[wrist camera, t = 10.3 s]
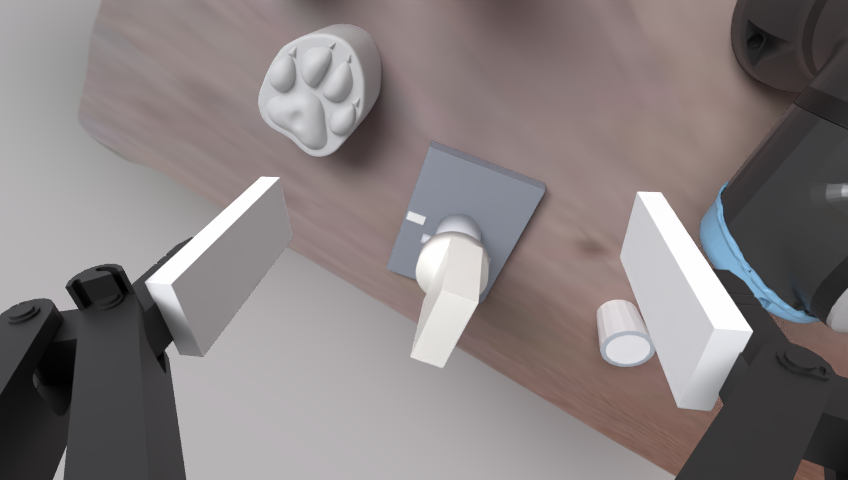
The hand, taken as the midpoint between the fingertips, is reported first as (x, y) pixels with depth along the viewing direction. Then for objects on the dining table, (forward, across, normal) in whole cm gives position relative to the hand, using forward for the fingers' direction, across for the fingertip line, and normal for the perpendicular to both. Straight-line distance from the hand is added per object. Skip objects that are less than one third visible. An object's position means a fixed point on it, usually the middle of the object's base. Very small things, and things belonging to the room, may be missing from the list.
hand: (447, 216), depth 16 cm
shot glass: (+37, +21, -36) cm, 56 cm away
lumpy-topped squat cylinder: (+37, -17, -3) cm, 41 cm away
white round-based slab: (+28, -3, -23) cm, 37 cm away
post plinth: (+37, -2, -23) cm, 43 cm away
